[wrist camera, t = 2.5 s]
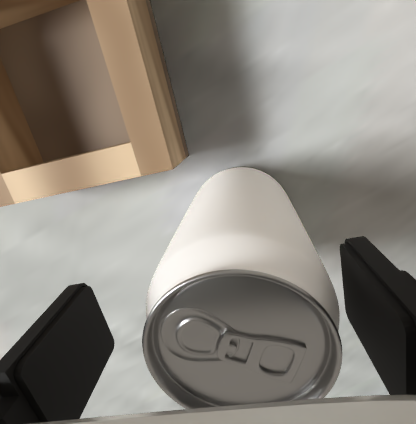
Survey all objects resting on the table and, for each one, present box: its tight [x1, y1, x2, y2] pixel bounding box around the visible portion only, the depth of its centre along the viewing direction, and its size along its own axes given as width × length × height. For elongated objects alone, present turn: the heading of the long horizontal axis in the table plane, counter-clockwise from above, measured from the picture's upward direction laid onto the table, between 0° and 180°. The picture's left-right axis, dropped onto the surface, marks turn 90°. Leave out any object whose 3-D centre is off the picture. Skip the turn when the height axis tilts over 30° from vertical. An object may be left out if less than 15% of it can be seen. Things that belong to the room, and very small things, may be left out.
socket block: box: [0, 0, 189, 207], centre depth 15 cm, size 11×11×4 cm
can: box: [142, 167, 342, 409], centre depth 14 cm, size 6×6×12 cm
